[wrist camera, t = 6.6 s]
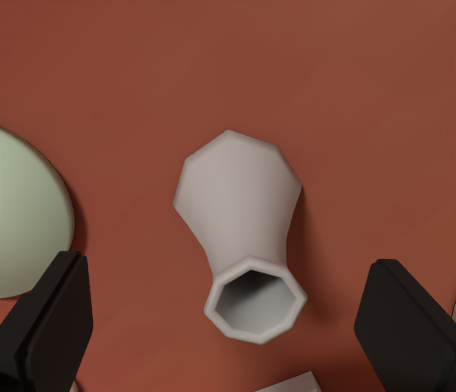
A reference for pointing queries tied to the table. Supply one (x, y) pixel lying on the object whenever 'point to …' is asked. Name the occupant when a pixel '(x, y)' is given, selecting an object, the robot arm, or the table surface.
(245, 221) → the flask
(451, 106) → the table surface
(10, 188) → the green pad
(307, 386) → the control unit
